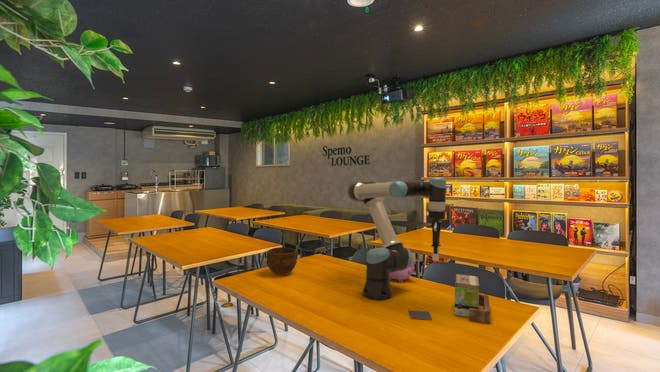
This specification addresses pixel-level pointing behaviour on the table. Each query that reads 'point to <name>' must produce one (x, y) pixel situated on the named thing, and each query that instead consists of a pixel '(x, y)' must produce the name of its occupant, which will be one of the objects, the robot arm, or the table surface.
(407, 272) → the teapot
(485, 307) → the display bay
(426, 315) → the rubber coaster
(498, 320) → the table surface
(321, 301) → the table surface
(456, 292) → the tea box
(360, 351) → the table surface
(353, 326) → the table surface
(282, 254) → the bowl
